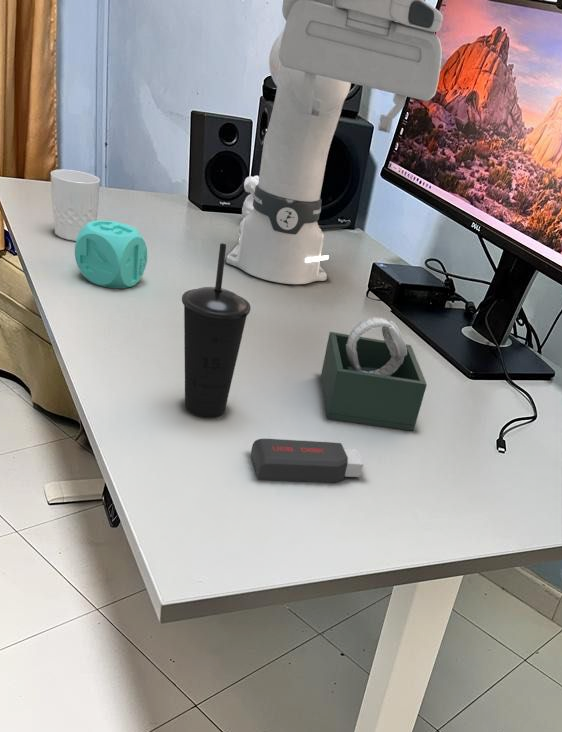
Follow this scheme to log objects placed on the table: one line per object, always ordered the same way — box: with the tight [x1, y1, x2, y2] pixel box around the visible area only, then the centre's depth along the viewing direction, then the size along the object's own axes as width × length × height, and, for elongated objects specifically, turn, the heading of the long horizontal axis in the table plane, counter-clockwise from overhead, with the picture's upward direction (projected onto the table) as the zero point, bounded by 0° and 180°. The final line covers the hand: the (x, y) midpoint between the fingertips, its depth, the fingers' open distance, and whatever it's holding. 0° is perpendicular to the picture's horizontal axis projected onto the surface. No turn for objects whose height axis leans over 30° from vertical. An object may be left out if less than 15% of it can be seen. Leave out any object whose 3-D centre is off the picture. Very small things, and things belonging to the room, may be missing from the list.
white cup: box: [50, 169, 101, 242], centre depth 133 cm, size 8×8×10 cm
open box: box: [320, 331, 428, 432], centre depth 102 cm, size 13×12×7 cm
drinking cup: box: [181, 242, 252, 419], centre depth 88 cm, size 8×8×20 cm
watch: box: [346, 316, 407, 376], centre depth 101 cm, size 6×8×11 cm
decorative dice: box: [74, 220, 148, 289], centre depth 119 cm, size 8×8×8 cm
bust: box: [241, 175, 259, 219], centre depth 162 cm, size 12×8×11 cm
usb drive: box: [250, 438, 364, 484], centre depth 86 cm, size 5×12×3 cm, turn 105°
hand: (348, 123), depth 99 cm, fingers open, 8 cm apart
